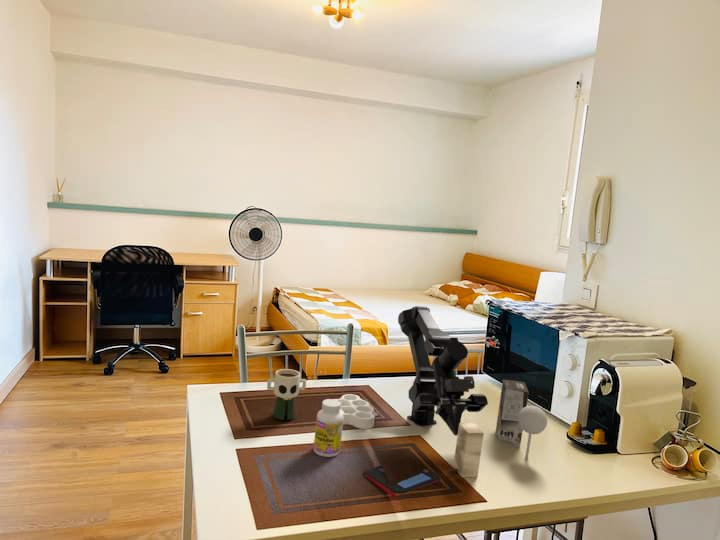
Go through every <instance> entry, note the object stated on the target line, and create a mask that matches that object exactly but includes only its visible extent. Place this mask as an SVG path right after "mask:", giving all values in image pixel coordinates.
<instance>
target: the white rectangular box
mask: <svg viewBox="0 0 720 540" xmlns="http://www.w3.org/2000/svg"><path fill="white" fill-rule="evenodd" d="M484 433H485V432H484V431H483V430H482V429H481V428H480V427H479V426H478V425H477V424H476V423H474V422H471V423H469V422H466V423H462V422H460V423H459V429H458V435H457V436H456V444H455V451H454V459H453V468H449V472H457V473H458V474H459V476H460V477H461V478H478V475H479V468H480V462H481V455H482V447H483V441H484Z"/></svg>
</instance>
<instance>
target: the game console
mask: <svg viewBox="0 0 720 540" xmlns="http://www.w3.org/2000/svg"><path fill="white" fill-rule="evenodd" d="M420 469H422V467H421V466H420ZM362 474H363V475H364V476H365V477H366V478H367V479H368V480H370V481H371V482H372V483H374V484H375V485H376V486H378V488H380V489H382V490H383V491H384V492H386V493H387V494H388V495H390V496H391V497H392V498H394V499H398V497H397V495H396V494H397V493H398V494H407V493H409V492H411V491H415V490H417V489H420V488H423V487H426V486H429V485H431V484H434V483H437V482H439V481H441V477H440V475H439V474H438V473H436V472H434V471H433V470H430V469H429V470H428V469H422V472H421V473H419V474H417V475H414V476H411V477H409V478H407V479H404V480H402V481H400V482H398V483H397V484H395V485H394V481H389V479H388V477H387V475H386V472H385V471H384V468H383V465H380V466H376V467H373V468H369V469H366V470H363V471H362Z"/></svg>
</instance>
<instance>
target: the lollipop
mask: <svg viewBox="0 0 720 540" xmlns="http://www.w3.org/2000/svg"><path fill="white" fill-rule="evenodd" d="M518 422H519V425H520V427H521V428H522V429H523V432H525V433H527V434H528V438H527V444H526V445H527V446H526V451H525V458H526V459H527V460H528V459H529V452H530V448H531V447H530V446H531V440H532V436H533V435H538V434H540V433H542V432H543V431H544V430H545V429H546V428H547V425H548V418H547V415H546V413H545V411H544V410H543V409H541V408H540V407H538V406H535V405H527V407H524V408H523V409H522V410H521V411H520V413H519V416H518Z"/></svg>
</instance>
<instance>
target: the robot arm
mask: <svg viewBox="0 0 720 540" xmlns="http://www.w3.org/2000/svg"><path fill="white" fill-rule="evenodd" d="M397 322H398V324H399V327H400V330H401V332H402V333H403V334H404V335H405V336H406V337H407V339H408V342H409V343H408V344H409V346H410V347H409V348H410V351H411V356H412V357H411V358H412V361H413V365H414V370H415V374H416V376H415V378H414V380H413V382H412V385H411V387H410V388H409V389H408V399H409V400H410V402H411V403H412V407H411V414H410V415H407V416H406V418H407V419H408V420H410V421H411V422H413V423H414V424H416V425H417V426H420V427H424V426H425V427H426V426H429V425H434V424H437V420H435V415H438V416H439V417H440V418H441V419H442V420H443V422H444V423H445V424H446V426H447V427H448V428H449V430H450V431H451V433H452V434H453V436H456V437H457V436H458V429H459V423H462V421H461V420H462V417H463V413H464V412H465V411H467V412H469V413H479V412H481V411H482V410H483V409H485V407H486V406H488V405H489V403H488V397H487V396H486V395H485V394H484V393H471V394H470V395H469V396H468V397H467V398H462V397H464V395H465V392H466V393H469V391H470V390H474V389H475V387H476V385H475V379H474V376H473V375H466V376H464V377H463V378H460V377H459V376H457V374H456V369H458V368H459V367H460V365H462V364H463V362H464V361H465V359H466V358H467V357H468V353H469V351H468V347H466V346H465V344H464V343H462V342H461V341H459V339H458V337H451V336H450V335H449V334H448V333H447V332H446V331H443V330H441V329H440V328H439V326H438V324H437V323H436V320H435V319H434V317H433V315H432V314H431V309H430V308H429V307H427V306H418V305H417V306H416V305H415V306H413V307H411V308H408V309H405V310H402V311H401V312H400V313H399V314H398V317H397ZM430 357H435V358H434V359H433V360H432V362H431V361H430ZM435 408H436V409H435Z"/></svg>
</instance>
